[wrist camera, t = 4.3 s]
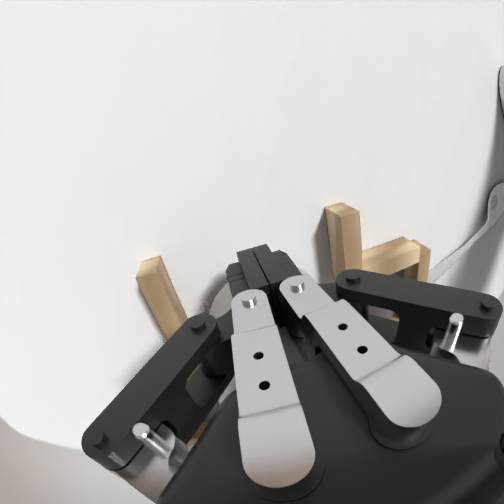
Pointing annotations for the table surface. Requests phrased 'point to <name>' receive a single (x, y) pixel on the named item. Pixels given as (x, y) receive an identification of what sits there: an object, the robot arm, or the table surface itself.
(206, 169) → the table surface
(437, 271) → the spoon
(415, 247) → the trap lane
